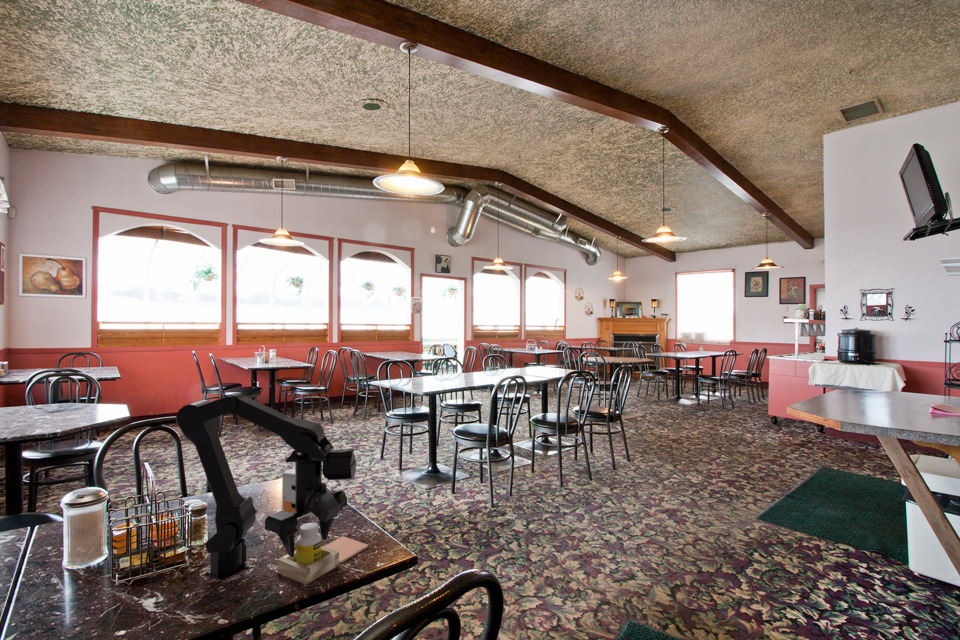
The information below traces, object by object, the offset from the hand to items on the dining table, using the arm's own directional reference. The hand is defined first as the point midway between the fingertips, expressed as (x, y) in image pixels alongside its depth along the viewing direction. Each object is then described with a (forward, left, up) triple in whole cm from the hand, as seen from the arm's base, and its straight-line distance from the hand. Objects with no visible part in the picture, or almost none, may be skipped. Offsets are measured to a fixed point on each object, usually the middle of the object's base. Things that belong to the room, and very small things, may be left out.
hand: (308, 547), depth 107 cm
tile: (+10, 0, -5) cm, 11 cm away
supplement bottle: (0, 0, -5) cm, 5 cm away
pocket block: (0, 0, -5) cm, 5 cm away
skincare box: (+19, +29, -5) cm, 35 cm away
